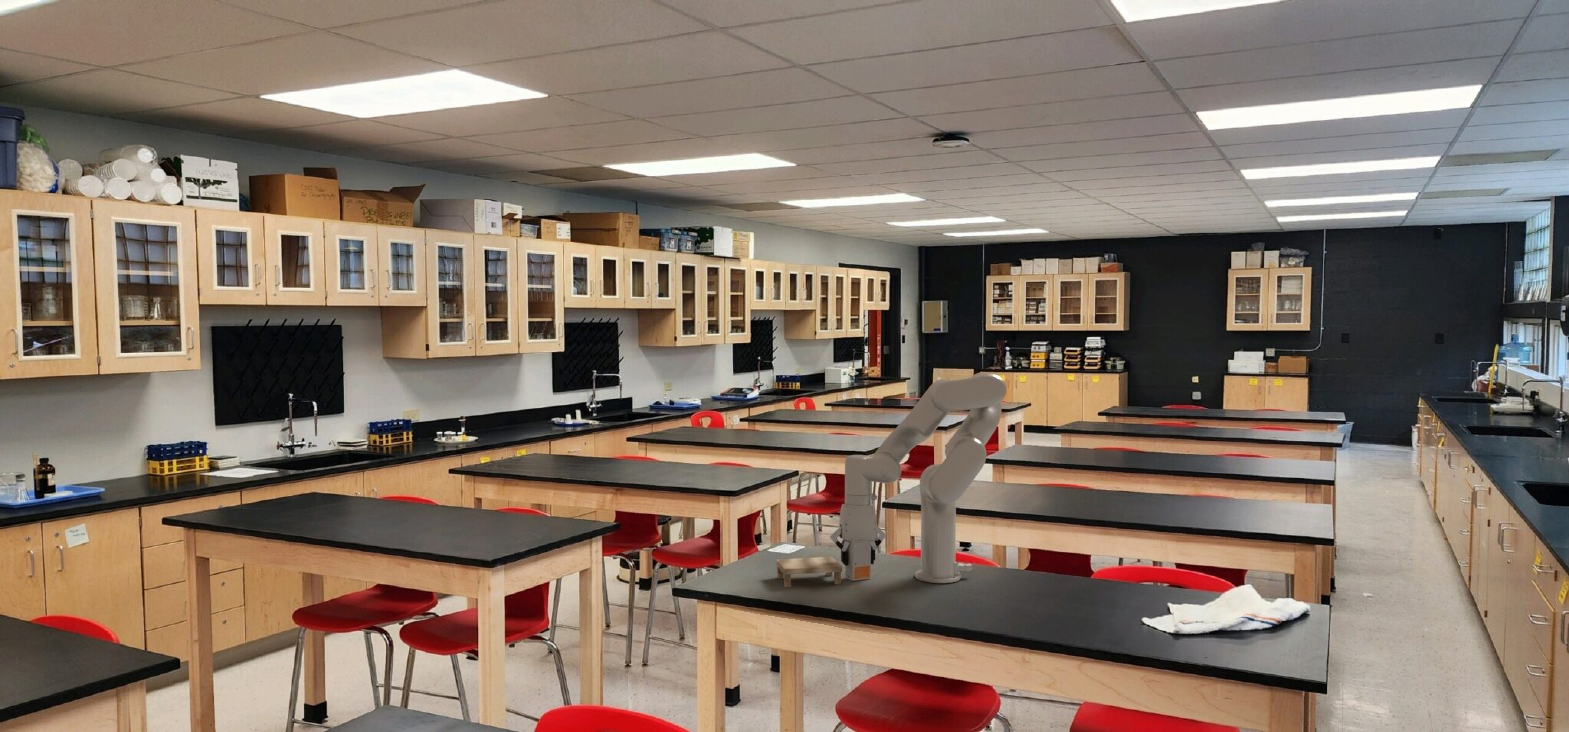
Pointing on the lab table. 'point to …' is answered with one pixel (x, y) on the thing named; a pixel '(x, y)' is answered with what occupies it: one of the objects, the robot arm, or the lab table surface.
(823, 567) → the birch stool
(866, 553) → the skincare box
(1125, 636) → the lab table surface
